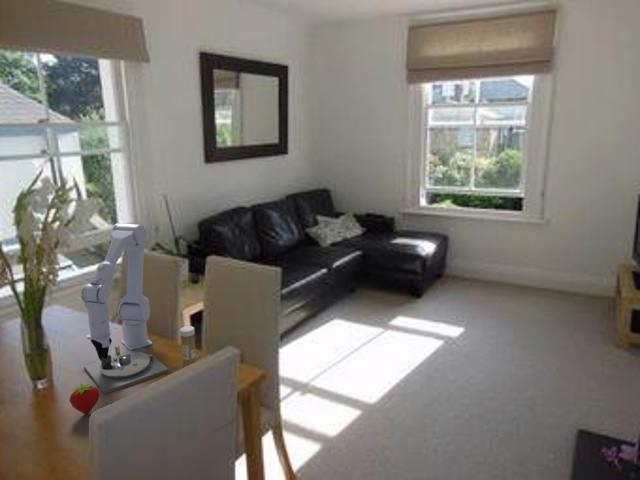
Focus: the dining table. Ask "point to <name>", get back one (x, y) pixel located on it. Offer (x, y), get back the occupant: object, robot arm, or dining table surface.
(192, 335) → the sprinkles bottle
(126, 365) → the flange plate
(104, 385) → the charcoal board
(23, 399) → the dining table surface
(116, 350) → the brass dowel
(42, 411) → the dining table surface
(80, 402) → the strawberry
